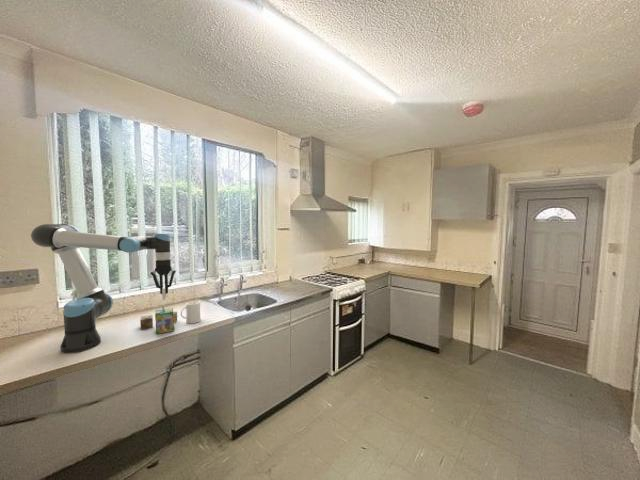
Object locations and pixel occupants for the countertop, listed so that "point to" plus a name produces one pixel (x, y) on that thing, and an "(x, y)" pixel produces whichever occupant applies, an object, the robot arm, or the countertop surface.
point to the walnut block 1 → (146, 322)
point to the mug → (192, 312)
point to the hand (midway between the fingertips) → (164, 299)
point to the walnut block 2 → (175, 316)
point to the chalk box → (164, 320)
